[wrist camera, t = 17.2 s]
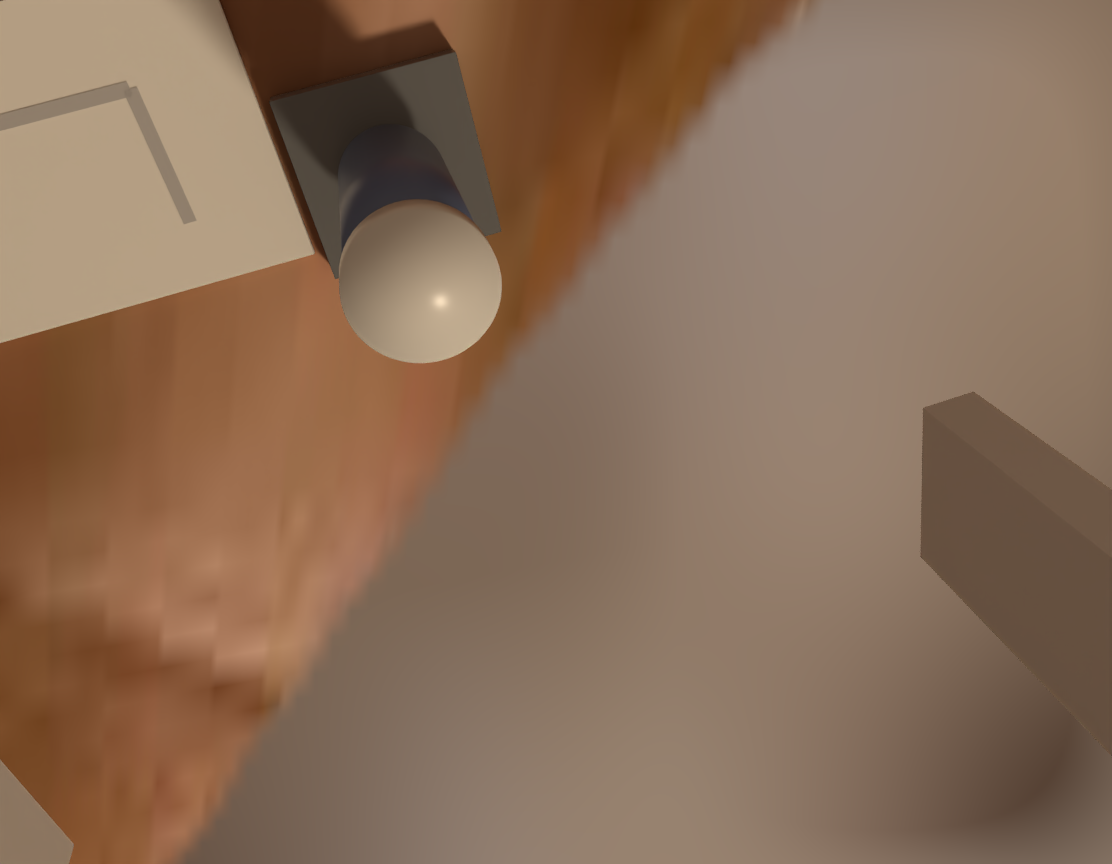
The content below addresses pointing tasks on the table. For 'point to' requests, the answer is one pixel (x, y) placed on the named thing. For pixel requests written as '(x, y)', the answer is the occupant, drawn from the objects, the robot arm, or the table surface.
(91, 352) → the table surface
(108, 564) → the table surface
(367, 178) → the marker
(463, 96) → the coaster
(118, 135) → the paper
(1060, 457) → the robot arm
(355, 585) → the table surface
